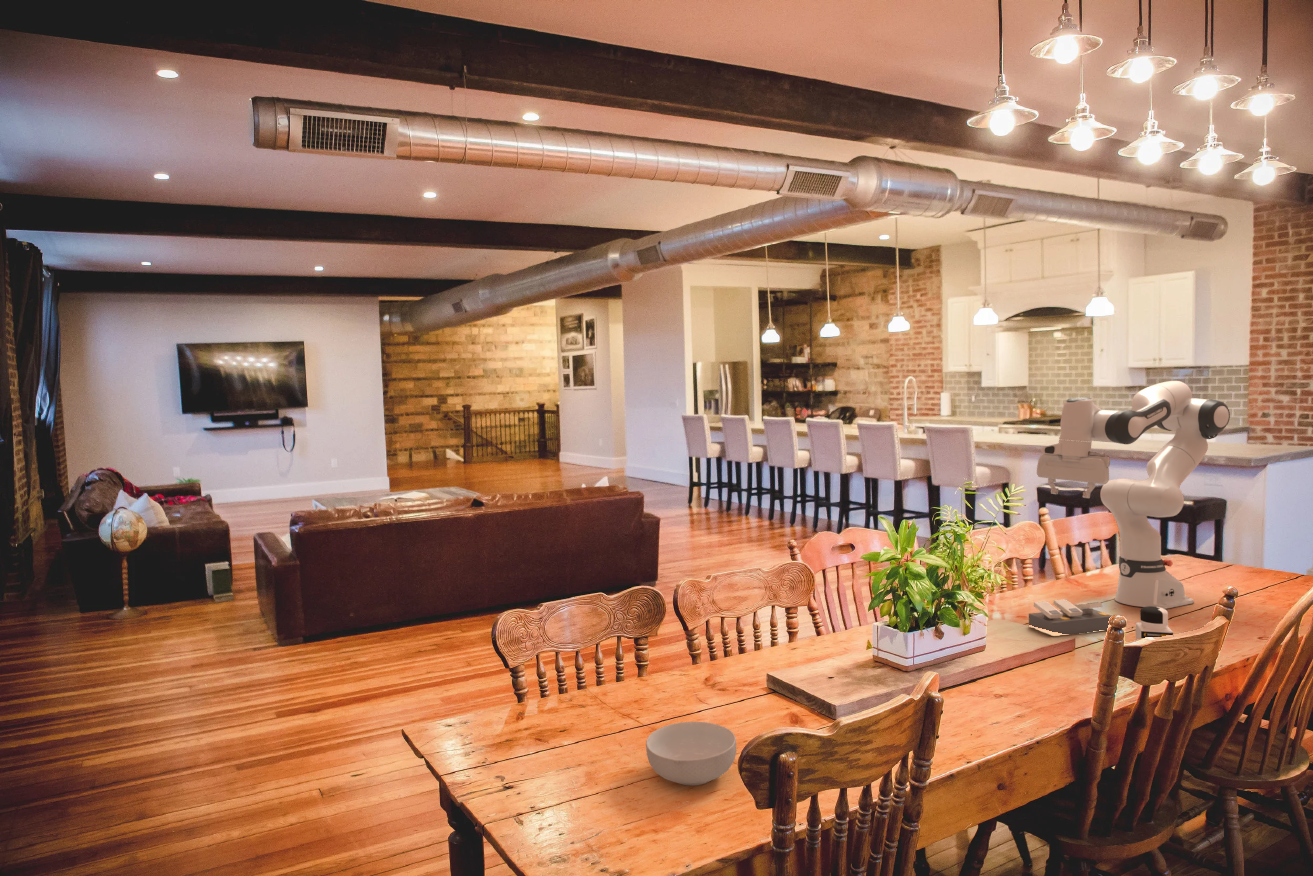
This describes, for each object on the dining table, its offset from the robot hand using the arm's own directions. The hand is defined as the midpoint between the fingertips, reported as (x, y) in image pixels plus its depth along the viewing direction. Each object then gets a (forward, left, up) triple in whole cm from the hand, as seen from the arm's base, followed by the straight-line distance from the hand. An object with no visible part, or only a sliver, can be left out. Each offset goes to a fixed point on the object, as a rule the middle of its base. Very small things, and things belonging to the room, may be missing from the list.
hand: (1070, 495), depth 246 cm
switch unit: (+11, +13, -36) cm, 40 cm away
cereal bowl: (+139, +68, -37) cm, 159 cm away
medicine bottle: (+7, +38, -37) cm, 53 cm away
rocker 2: (+12, +13, -30) cm, 35 cm away
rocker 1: (+18, +13, -30) cm, 37 cm away
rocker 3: (+5, +13, -30) cm, 33 cm away
